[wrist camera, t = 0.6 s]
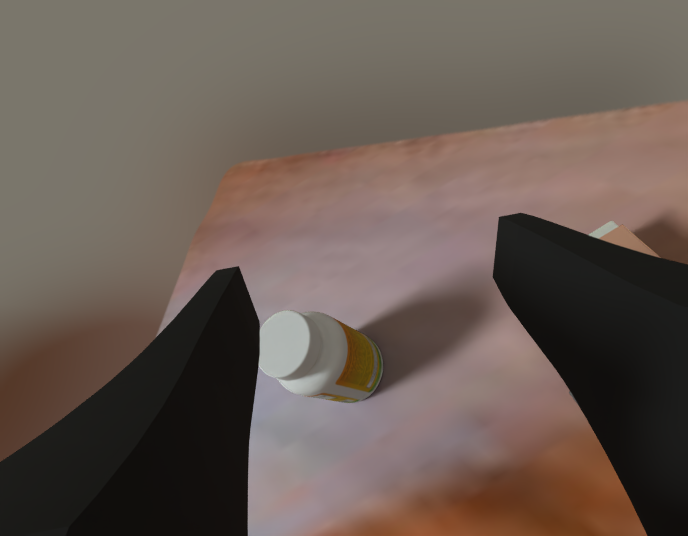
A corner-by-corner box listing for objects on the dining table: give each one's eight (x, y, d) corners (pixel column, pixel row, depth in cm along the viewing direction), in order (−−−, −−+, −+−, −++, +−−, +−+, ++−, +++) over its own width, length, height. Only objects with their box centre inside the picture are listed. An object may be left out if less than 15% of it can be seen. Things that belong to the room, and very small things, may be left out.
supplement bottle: (363, 321, 31) (299, 280, 23) (397, 377, 28) (337, 354, 20) (313, 358, 32) (234, 332, 24) (341, 417, 29) (261, 409, 21)
